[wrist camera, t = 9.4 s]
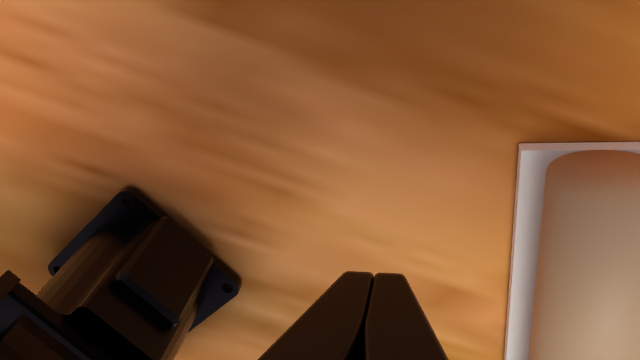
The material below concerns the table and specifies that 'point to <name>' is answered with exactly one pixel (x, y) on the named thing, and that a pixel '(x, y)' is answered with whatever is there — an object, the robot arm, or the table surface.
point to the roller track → (575, 253)
